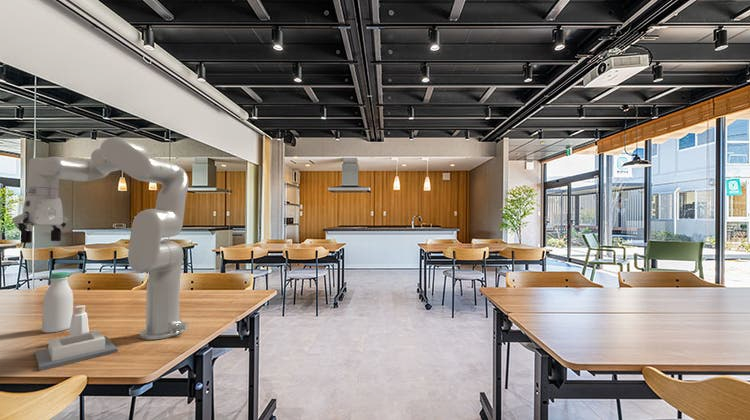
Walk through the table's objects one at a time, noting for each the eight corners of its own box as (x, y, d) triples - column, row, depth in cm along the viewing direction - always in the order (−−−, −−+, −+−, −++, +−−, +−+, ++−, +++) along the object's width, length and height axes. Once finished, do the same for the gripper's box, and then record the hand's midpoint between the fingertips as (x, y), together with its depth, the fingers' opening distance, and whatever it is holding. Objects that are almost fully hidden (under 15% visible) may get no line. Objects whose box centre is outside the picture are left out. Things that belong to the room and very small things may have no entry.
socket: (106, 338, 106) (106, 326, 106) (117, 351, 95) (118, 338, 95) (35, 354, 93) (35, 340, 94) (39, 370, 83) (40, 355, 83)
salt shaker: (74, 338, 106) (75, 304, 107) (93, 336, 107) (94, 303, 108) (62, 344, 101) (63, 308, 101) (83, 342, 102) (84, 307, 103)
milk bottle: (77, 327, 117) (79, 271, 118) (50, 334, 110) (52, 275, 110) (64, 325, 119) (66, 270, 120) (36, 331, 112) (38, 274, 113)
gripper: (26, 191, 106) (23, 243, 105) (77, 195, 123) (75, 240, 122) (4, 191, 106) (2, 243, 105) (58, 195, 123) (56, 240, 123)
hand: (41, 241), depth 114 cm, fingers open, 9 cm apart
